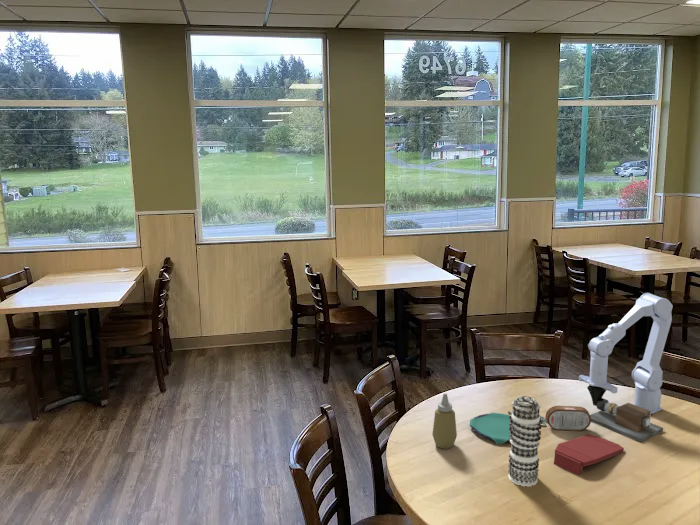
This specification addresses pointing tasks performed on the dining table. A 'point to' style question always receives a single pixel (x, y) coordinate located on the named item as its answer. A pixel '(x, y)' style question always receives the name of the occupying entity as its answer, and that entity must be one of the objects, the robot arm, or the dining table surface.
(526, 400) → the decorative candle
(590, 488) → the dining table surface
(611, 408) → the shaft
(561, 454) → the red bent panel
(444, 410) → the squeeze bottle
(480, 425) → the green flat slab
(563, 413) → the tin
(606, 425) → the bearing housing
